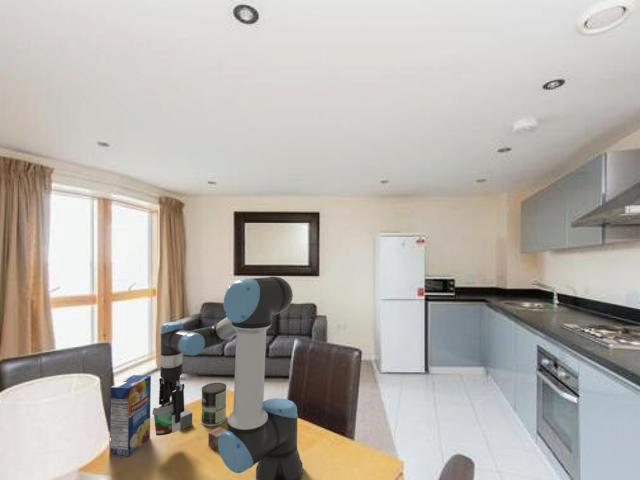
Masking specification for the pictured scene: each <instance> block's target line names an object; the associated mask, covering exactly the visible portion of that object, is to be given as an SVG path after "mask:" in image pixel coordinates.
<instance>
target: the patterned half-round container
mask: <svg viewBox="0 0 640 480" xmlns="http://www.w3.org/2000/svg"><path fill="white" fill-rule="evenodd" d="M173 411H174V409H173V405H172V399H170V401H168V402H165V403H164V404H163V405H162V406H161V405H159V407H153V409H152V415H153V420H154V428H155V436H165V435H170V434H172V413H174V412H173ZM180 418H181V413H180Z"/></svg>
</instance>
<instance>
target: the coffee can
mask: <svg viewBox="0 0 640 480" xmlns="http://www.w3.org/2000/svg"><path fill="white" fill-rule="evenodd" d="M226 419H227V384H226V383H223V382H211V383H208V384H205V385H204V386H202V387H201V420H200V421H201V423H200V424H202V426H205V427H215V426H219V425H221V424H223V423H225V421H227V420H226Z"/></svg>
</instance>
